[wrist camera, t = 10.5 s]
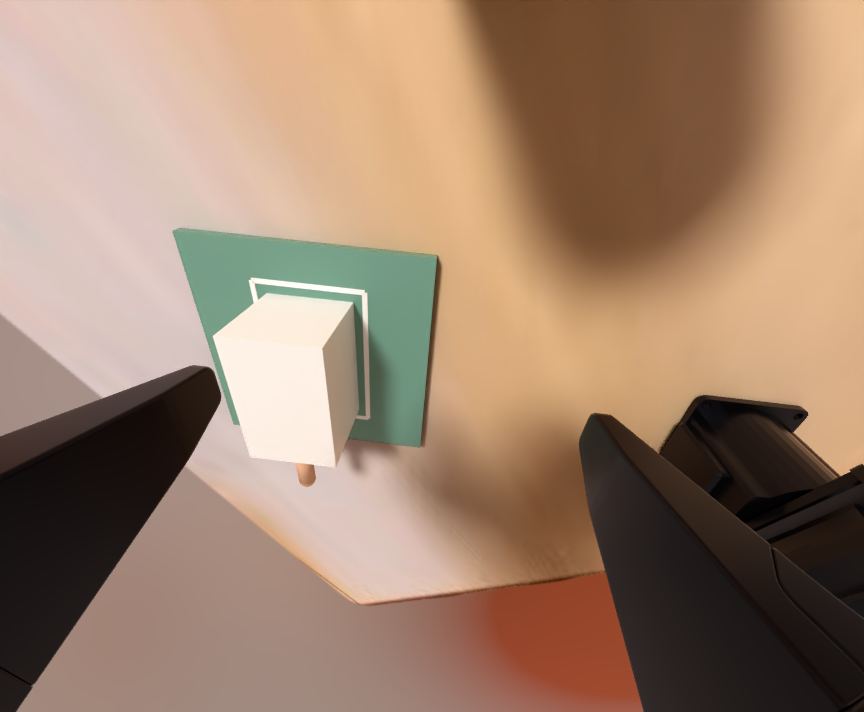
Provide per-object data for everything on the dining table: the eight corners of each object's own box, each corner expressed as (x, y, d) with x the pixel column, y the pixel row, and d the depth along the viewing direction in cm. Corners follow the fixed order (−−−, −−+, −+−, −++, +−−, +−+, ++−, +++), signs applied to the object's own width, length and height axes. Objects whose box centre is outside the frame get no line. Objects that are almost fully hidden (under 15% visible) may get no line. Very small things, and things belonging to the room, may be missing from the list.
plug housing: (353, 302, 20) (322, 348, 15) (361, 444, 26) (340, 504, 22) (266, 293, 20) (212, 336, 16) (295, 436, 26) (262, 494, 22)
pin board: (437, 255, 18) (432, 273, 16) (420, 441, 26) (416, 471, 24) (180, 228, 19) (139, 241, 16) (238, 418, 26) (215, 446, 24)
